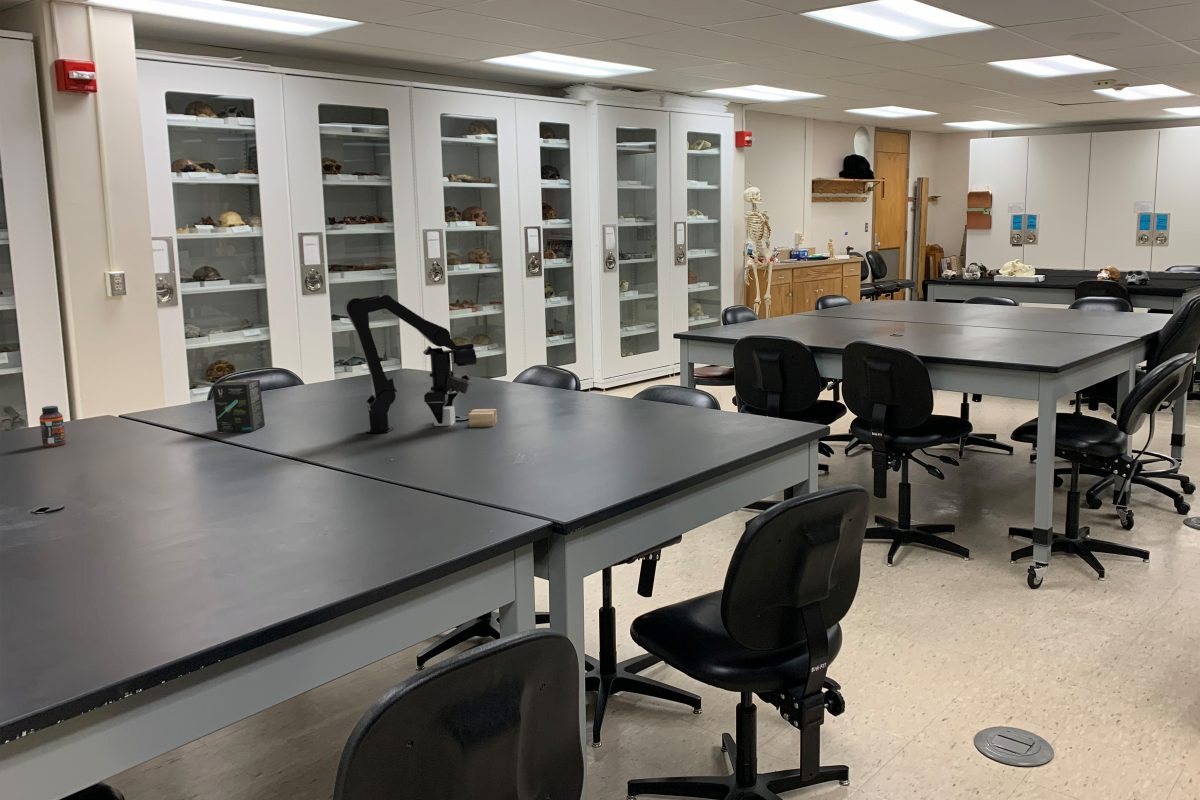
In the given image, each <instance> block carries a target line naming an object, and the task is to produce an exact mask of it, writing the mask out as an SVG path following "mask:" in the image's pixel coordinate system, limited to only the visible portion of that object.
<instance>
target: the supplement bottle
mask: <svg viewBox="0 0 1200 800" xmlns="http://www.w3.org/2000/svg"><path fill="white" fill-rule="evenodd" d="M41 411H42V413H41V415H39V425H40V426H39V427H40V434H41V438H42V439H41V440H42V445H43V447H47V448H53V446H54V447H59V446H60V445H61V446H63V444H64V445H65V444H66V443H67V439H66V436H67V435H66V430H65V424H64V422H65V421H64V416H63V414H62V413H61V412H60V411H59V407H58V405H47V406H42V408H41Z"/></svg>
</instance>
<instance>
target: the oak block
mask: <svg viewBox="0 0 1200 800" xmlns="http://www.w3.org/2000/svg"><path fill="white" fill-rule="evenodd" d="M470 411H471V412H470V413H468V420H469V421H468V423H469V424H468V425H469V427H470V428H474V427H495V425H496V423H498V415H497V414H498V412H497V408H484V409H483V408H481V409H472V410H470Z"/></svg>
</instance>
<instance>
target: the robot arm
mask: <svg viewBox="0 0 1200 800" xmlns="http://www.w3.org/2000/svg"><path fill="white" fill-rule="evenodd" d="M343 309H344V312H345V314H346V317H348V319H349V321H350V323H351V325H352V326H353V328H354V330H355V333H356V336H357V338H358V341H359V344H360V348H361V350H362V355H363V356H364V357H363V358H364V359H365V363H366V366H367V368H368V371H369V375H370V387H371V393H372V394H371V396H369V397H368V399H366V401H365V405H366V407H367V409H368V410H367V413H368V425H369V426H368V427H369V429H366V431H365V434H370V433H372V434H378V433H379V434H382V433H383V434H386V433H389V432H391V430H394V426H390V417H389V416H390V414H389V413H390V412H389V410H390V407H391V405H392V404H393V403H394V402H395V401H396V397H397V396H396V393H397V392H398V390H397V389H396V387H395V384H394V378H393V377H391V375H387V376H386V373H385V372H384V368H383V365H382V363H381V360H380V356H379V354H378V350H377V347H376V344H375V341H374V338H373V334H372V331H371V329H370V328H371V327H370V316H369V315H370V314H369V313H374V312H377V311H380V310H384V309H385V310H386V311H388V312H389V313H391V314H393V315H394V316H396V317H397V318H398V319H399V320H402V321H404V322H405V323H406V324H407V325H410V326H411V327H412V328H415V330H416V331H418V333H420V335H422V336H423V337H424V338H425V339H426V340H427V341H428V342H429V343H431V344H432V345H434V346H437V347H435V348H432V347H431V346H430V345H427V347H426V349H424V351H423V352H422V354H424V355H425V356H430V369H431V371H430V373H429V377H430V378H431V384H432V386H430V390H429V391H427V392H426V393H424V395H423V401H424V403H426V405H427V406H428V407H429V409H430V411H431V413H432V414H433V417H434V416H435V418H436V420H437V422H438V423H439V424H442V422H443V411H444V406H454V401H455V398H457V397H458V395H460V393H461V394H465V395H466V394H467V393H469V391H470V389H471V386H472V380H471V377H470V375H468V374H463V375H462V376H461V377H460V376H456V375H455V371H454V370H452V365H455V367H456V368H462V367H463V368H464V367H474V366H476V365H477V354H476V351H475V348H474V346H475V345H474V343H472V342H469V343H468V342H467V343H465V344H464V343H462V344H456V342H454V341H453V339H451V333H450V331H449V330H448V329H447V328H446V327H443V326H441V325H438V324H436V323H434V322H432V321H429V320H426V319H425V318H423V317H422V316H420V315H418V314H417V313H416V312H414V311H412V310H411V309H410V308H408V307H406V306H405V305H403V304H402V303H400V302H399V301H397V300H396V299H394V298H393V297H392V296H390V295H389V294H387V293H383V294H380V295H376V296H370V297H364V298H363V297H362V298H359V297H357V296H351V297H349V298H347V299H346V300H345V302H344V303H343ZM442 347H445V348H447V350H443V348H442ZM451 364H452V365H451Z"/></svg>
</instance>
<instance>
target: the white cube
mask: <svg viewBox="0 0 1200 800" xmlns="http://www.w3.org/2000/svg"><path fill="white" fill-rule="evenodd" d="M455 411H456V410H455V406H454V405H453V406H444V411H443V422H442V424H439V423H438V422H437V420H436V418H435V416H434V415H433V423H434V427H436V426H437V427H441V426H443V427H445V426H449V427H450V426H452V425H454V424H455V423H456V415H455V414H456V413H455Z"/></svg>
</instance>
